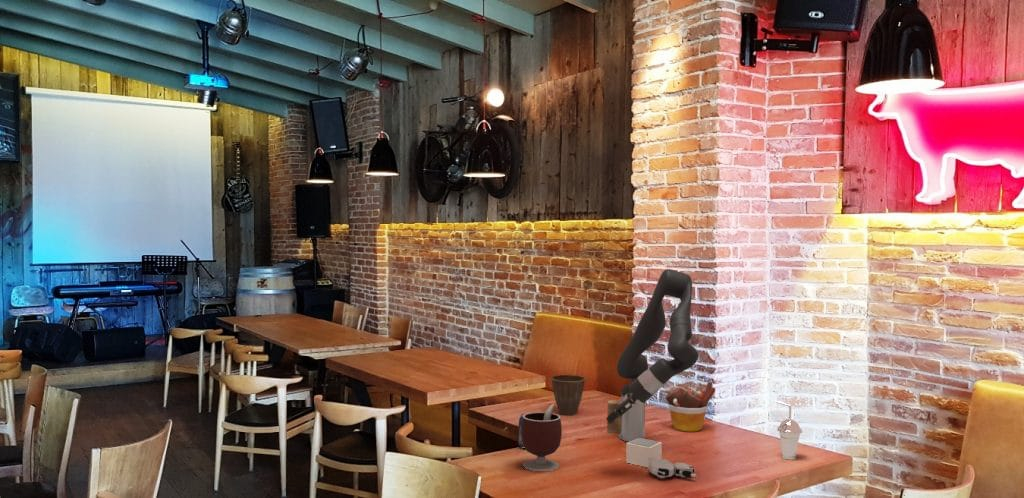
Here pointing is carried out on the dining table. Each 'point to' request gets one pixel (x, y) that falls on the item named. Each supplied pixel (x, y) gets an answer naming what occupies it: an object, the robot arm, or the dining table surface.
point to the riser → (643, 451)
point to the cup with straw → (789, 436)
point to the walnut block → (617, 423)
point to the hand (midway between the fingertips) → (608, 419)
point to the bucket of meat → (688, 407)
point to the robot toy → (670, 469)
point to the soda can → (520, 431)
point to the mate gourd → (541, 438)
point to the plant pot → (568, 392)
